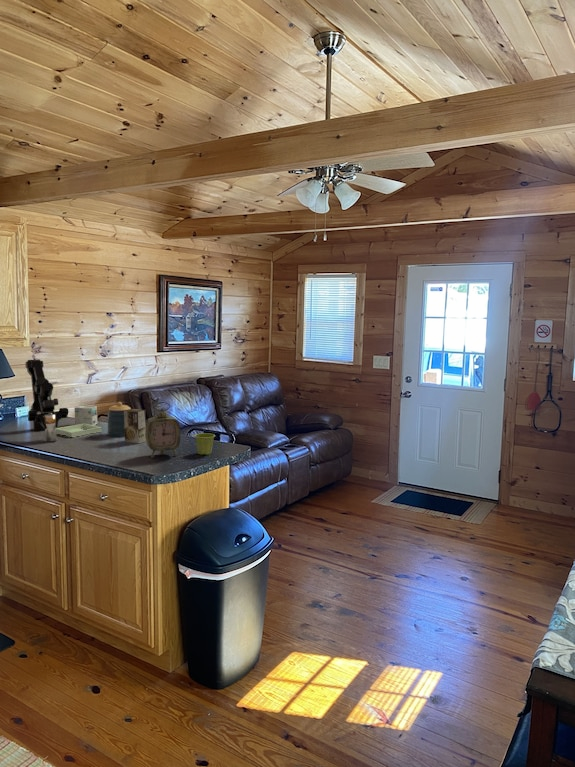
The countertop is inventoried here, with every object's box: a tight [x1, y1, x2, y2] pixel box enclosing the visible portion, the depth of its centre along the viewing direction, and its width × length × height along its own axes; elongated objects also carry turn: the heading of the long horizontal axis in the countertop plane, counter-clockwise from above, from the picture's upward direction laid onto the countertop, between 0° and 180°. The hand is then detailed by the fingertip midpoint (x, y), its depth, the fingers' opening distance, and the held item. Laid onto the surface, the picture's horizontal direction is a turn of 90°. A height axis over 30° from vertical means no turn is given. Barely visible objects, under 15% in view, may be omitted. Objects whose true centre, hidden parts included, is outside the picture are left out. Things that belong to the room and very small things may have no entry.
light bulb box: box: [74, 405, 98, 426], centre depth 330 cm, size 11×7×11 cm, turn 84°
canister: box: [106, 401, 132, 438], centre depth 306 cm, size 13×13×18 cm
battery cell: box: [44, 413, 57, 442], centre depth 289 cm, size 5×5×14 cm
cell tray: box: [56, 424, 103, 438], centre depth 309 cm, size 16×18×3 cm
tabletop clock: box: [145, 401, 181, 459], centre depth 263 cm, size 14×9×25 cm, turn 114°
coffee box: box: [124, 408, 147, 444], centre depth 291 cm, size 9×6×16 cm
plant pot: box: [194, 432, 216, 456], centre depth 269 cm, size 9×9×9 cm
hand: (51, 428), depth 288 cm, fingers closed on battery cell, 5 cm apart
